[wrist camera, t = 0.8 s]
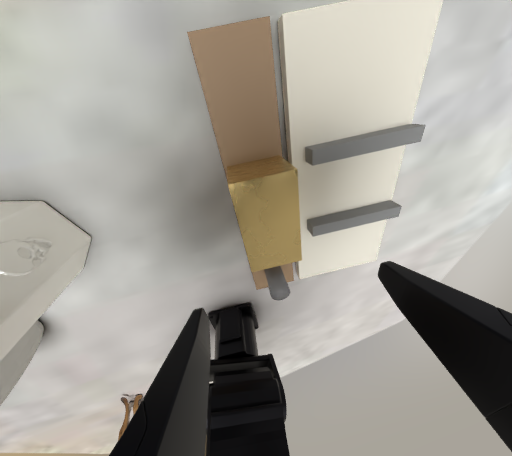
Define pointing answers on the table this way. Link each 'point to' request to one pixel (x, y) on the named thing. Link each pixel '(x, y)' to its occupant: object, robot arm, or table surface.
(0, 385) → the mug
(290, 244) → the bar
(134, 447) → the robot arm
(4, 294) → the jar
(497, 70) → the table surface
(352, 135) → the door board
